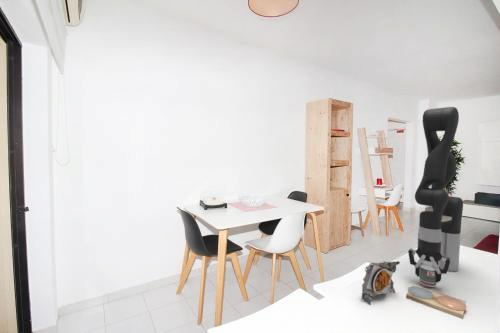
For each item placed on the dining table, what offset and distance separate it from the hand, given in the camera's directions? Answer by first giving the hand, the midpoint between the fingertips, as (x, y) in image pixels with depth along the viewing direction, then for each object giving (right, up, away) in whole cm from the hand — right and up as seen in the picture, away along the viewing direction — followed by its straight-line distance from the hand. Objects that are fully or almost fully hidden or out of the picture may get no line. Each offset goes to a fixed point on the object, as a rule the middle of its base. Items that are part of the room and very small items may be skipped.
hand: (427, 278), depth 99 cm
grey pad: (-8, -2, -7) cm, 11 cm away
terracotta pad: (-1, -3, -13) cm, 14 cm away
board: (-4, -4, -10) cm, 11 cm away
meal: (-23, -4, -7) cm, 24 cm away
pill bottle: (0, -2, 0) cm, 2 cm away
